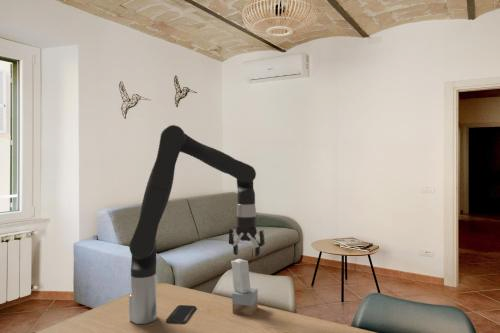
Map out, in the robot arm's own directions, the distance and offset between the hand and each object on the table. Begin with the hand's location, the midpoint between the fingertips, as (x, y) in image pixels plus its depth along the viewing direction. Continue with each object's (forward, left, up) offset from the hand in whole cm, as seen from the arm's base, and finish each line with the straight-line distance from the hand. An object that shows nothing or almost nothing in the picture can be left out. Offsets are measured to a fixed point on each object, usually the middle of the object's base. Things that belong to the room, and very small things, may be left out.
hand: (246, 255), depth 145 cm
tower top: (-1, 0, -18) cm, 18 cm away
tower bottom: (-1, 0, -22) cm, 22 cm away
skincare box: (-2, 0, -14) cm, 15 cm away
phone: (-24, -10, -23) cm, 34 cm away
